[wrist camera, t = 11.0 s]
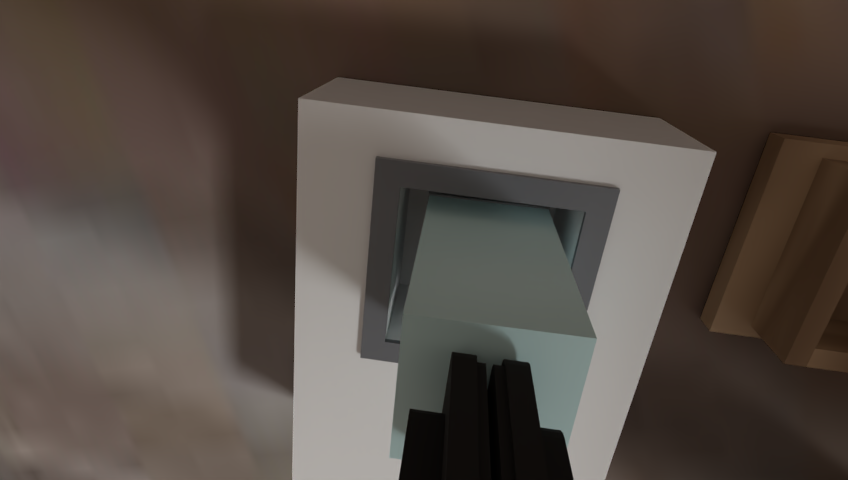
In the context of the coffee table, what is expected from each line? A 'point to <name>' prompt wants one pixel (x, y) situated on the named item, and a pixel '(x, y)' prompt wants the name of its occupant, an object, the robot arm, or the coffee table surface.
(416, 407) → the plug
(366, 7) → the coffee table surface
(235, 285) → the coffee table surface
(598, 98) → the coffee table surface
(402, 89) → the panel
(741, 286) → the square wooden tray
